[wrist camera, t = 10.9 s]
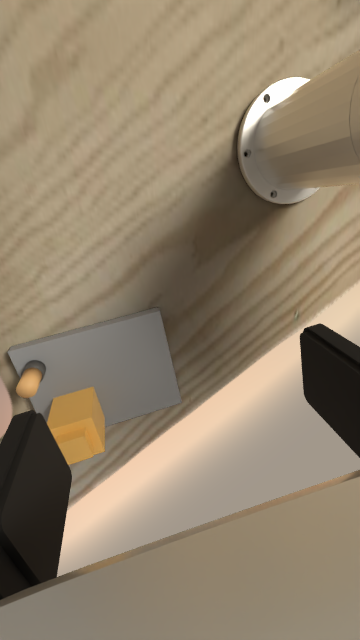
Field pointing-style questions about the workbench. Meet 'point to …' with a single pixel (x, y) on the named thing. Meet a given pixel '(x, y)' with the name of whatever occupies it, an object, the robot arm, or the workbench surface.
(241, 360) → the workbench surface
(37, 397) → the board
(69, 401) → the stepped orange block
